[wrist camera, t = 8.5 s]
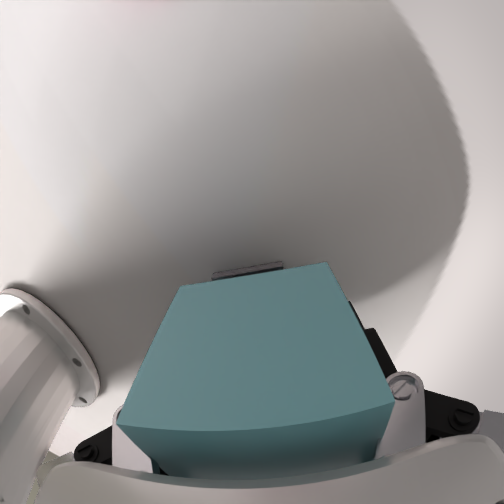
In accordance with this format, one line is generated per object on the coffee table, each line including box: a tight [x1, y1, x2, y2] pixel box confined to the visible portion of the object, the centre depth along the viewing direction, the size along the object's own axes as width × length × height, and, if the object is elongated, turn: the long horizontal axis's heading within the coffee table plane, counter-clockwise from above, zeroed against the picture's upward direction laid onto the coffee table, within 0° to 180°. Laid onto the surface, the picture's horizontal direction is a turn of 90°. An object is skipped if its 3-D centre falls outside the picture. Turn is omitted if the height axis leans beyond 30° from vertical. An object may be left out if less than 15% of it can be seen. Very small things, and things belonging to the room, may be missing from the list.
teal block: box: [116, 262, 395, 480], centre depth 8 cm, size 6×6×7 cm
